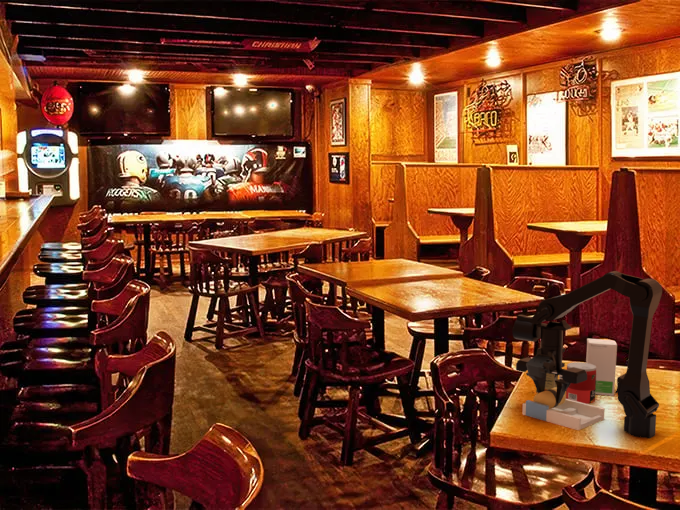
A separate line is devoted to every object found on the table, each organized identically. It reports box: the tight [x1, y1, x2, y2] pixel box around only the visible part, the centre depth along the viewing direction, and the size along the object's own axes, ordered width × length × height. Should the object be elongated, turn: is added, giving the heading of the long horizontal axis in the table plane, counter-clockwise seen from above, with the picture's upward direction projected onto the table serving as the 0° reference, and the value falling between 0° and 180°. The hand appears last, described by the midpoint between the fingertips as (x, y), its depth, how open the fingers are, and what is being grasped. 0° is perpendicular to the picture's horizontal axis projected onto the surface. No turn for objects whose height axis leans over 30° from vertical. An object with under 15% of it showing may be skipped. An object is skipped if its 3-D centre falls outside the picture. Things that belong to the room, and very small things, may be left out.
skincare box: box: [585, 337, 618, 397], centre depth 229 cm, size 8×7×16 cm
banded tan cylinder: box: [533, 387, 566, 409], centre depth 207 cm, size 8×5×5 cm, turn 132°
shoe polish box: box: [535, 373, 559, 394], centre depth 227 cm, size 5×5×12 cm
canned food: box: [565, 361, 596, 405], centre depth 219 cm, size 8×8×11 cm
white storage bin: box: [522, 399, 605, 431], centre depth 204 cm, size 17×12×5 cm
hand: (549, 401), depth 207 cm, fingers closed on banded tan cylinder, 5 cm apart
